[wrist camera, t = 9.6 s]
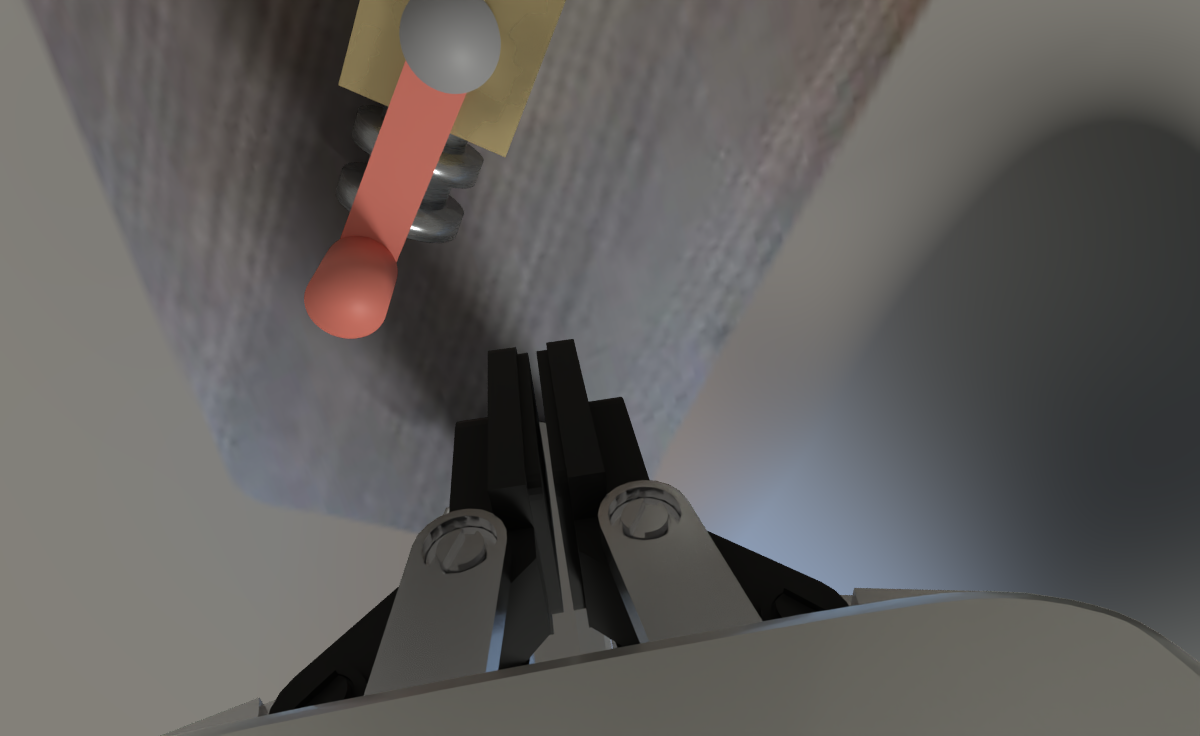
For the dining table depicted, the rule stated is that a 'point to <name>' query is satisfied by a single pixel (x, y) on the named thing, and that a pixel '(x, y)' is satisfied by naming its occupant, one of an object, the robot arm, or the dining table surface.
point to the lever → (403, 160)
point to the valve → (486, 114)
